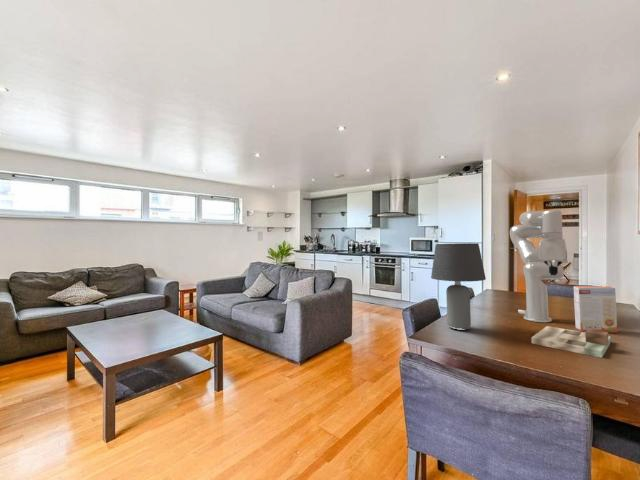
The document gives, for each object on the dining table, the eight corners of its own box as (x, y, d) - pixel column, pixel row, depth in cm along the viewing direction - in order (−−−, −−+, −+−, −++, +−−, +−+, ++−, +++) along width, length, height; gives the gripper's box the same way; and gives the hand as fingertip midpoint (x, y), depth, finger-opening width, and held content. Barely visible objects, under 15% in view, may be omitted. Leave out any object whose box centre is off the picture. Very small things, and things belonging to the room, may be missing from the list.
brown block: (585, 341, 120) (585, 332, 120) (588, 338, 124) (588, 329, 124) (606, 345, 116) (605, 335, 116) (608, 342, 119) (608, 332, 119)
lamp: (486, 324, 156) (484, 242, 156) (488, 339, 134) (485, 243, 134) (435, 319, 168) (433, 243, 168) (429, 332, 146) (426, 244, 146)
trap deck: (531, 343, 127) (531, 337, 127) (547, 331, 143) (546, 326, 143) (601, 357, 110) (601, 351, 110) (610, 342, 126) (610, 336, 126)
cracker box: (610, 329, 143) (608, 286, 143) (618, 333, 137) (616, 288, 137) (574, 327, 147) (573, 285, 147) (580, 331, 142) (579, 287, 142)
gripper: (531, 236, 145) (532, 274, 145) (570, 236, 133) (572, 277, 133) (535, 236, 149) (537, 273, 149) (574, 235, 138) (575, 275, 138)
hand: (553, 275), depth 141 cm, fingers closed
